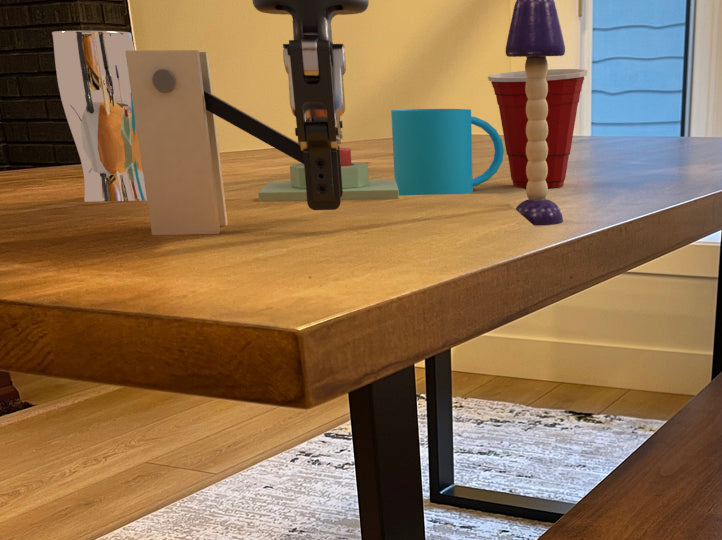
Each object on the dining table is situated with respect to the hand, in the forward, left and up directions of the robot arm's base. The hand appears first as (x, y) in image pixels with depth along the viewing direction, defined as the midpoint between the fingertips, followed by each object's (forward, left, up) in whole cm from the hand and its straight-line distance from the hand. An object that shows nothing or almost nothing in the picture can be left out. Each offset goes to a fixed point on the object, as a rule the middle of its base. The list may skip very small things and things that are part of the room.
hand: (326, 203), depth 71 cm
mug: (+12, +36, -3) cm, 38 cm away
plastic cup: (+22, +41, -3) cm, 46 cm away
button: (0, +22, +1) cm, 22 cm away
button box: (0, +22, -3) cm, 22 cm away
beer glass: (-20, +27, -3) cm, 34 cm away
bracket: (-9, 0, -3) cm, 10 cm away
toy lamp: (+17, +10, -3) cm, 20 cm away
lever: (-6, 0, +4) cm, 7 cm away
